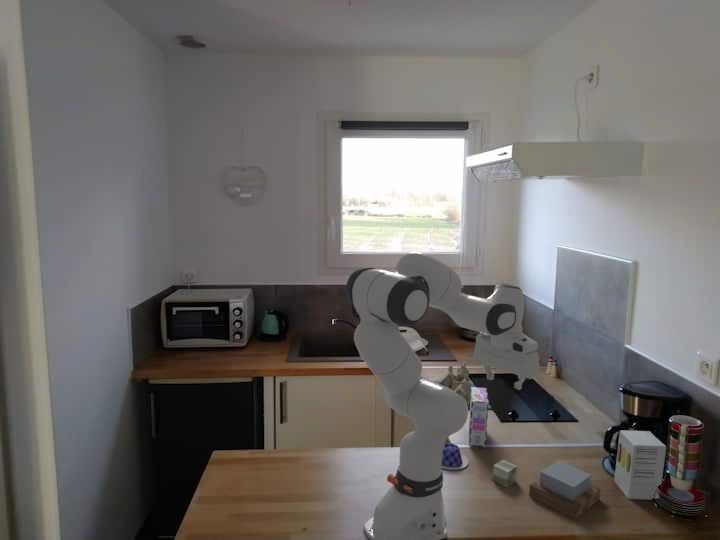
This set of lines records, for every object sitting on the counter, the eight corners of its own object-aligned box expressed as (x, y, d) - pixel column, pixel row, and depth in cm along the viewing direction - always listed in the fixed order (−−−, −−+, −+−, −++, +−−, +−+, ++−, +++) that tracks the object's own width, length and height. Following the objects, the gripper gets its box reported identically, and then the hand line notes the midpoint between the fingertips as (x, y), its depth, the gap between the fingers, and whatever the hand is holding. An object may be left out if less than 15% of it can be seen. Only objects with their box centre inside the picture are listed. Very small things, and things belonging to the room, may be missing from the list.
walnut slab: (575, 521, 139) (576, 507, 139) (529, 497, 150) (530, 484, 149) (599, 501, 148) (600, 488, 148) (553, 480, 159) (554, 468, 158)
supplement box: (613, 480, 158) (618, 429, 155) (643, 481, 158) (649, 430, 155) (628, 499, 148) (634, 445, 146) (660, 500, 148) (667, 446, 146)
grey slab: (572, 500, 142) (573, 487, 141) (539, 484, 149) (540, 471, 149) (589, 487, 148) (591, 474, 148) (557, 472, 156) (558, 460, 155)
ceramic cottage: (441, 387, 229) (443, 355, 226) (477, 395, 222) (480, 363, 219) (428, 401, 216) (430, 368, 213) (467, 411, 209) (469, 377, 205)
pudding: (427, 452, 174) (428, 438, 173) (463, 452, 174) (463, 437, 173) (435, 472, 162) (435, 456, 161) (472, 471, 162) (473, 456, 162)
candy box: (486, 448, 177) (488, 402, 174) (468, 446, 178) (471, 400, 175) (484, 429, 190) (487, 387, 187) (468, 428, 191) (470, 385, 188)
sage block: (506, 487, 154) (507, 472, 153) (492, 480, 157) (493, 465, 157) (516, 481, 157) (517, 466, 156) (502, 474, 161) (503, 459, 160)
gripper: (470, 333, 156) (468, 376, 158) (531, 349, 141) (528, 397, 143) (482, 329, 160) (481, 371, 162) (543, 344, 145) (540, 391, 147)
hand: (503, 383), depth 153 cm, fingers open, 8 cm apart
